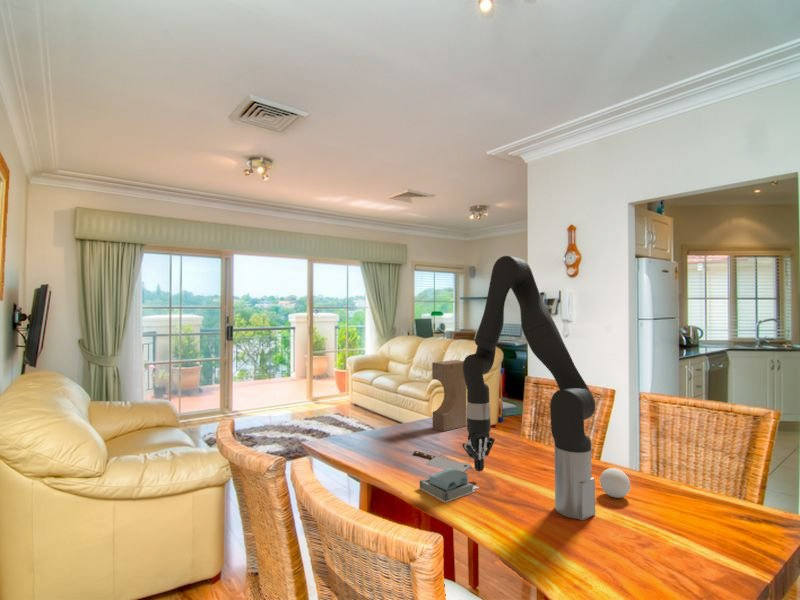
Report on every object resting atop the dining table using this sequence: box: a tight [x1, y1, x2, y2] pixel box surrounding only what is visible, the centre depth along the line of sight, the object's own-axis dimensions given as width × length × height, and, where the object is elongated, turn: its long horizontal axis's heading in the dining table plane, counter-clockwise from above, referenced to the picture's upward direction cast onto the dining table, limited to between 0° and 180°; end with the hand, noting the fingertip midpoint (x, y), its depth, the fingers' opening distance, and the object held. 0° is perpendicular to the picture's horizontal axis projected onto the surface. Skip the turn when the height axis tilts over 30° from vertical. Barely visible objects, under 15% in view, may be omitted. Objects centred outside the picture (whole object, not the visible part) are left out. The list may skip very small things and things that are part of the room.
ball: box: [599, 467, 631, 499], centre depth 125 cm, size 8×8×8 cm
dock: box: [419, 477, 480, 503], centre depth 130 cm, size 12×15×2 cm
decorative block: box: [431, 359, 467, 433], centre depth 197 cm, size 15×8×30 cm, turn 128°
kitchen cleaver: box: [413, 450, 472, 473], centre depth 152 cm, size 24×1×10 cm
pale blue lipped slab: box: [429, 468, 469, 492], centre depth 129 cm, size 7×10×4 cm
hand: (479, 470), depth 137 cm, fingers closed
